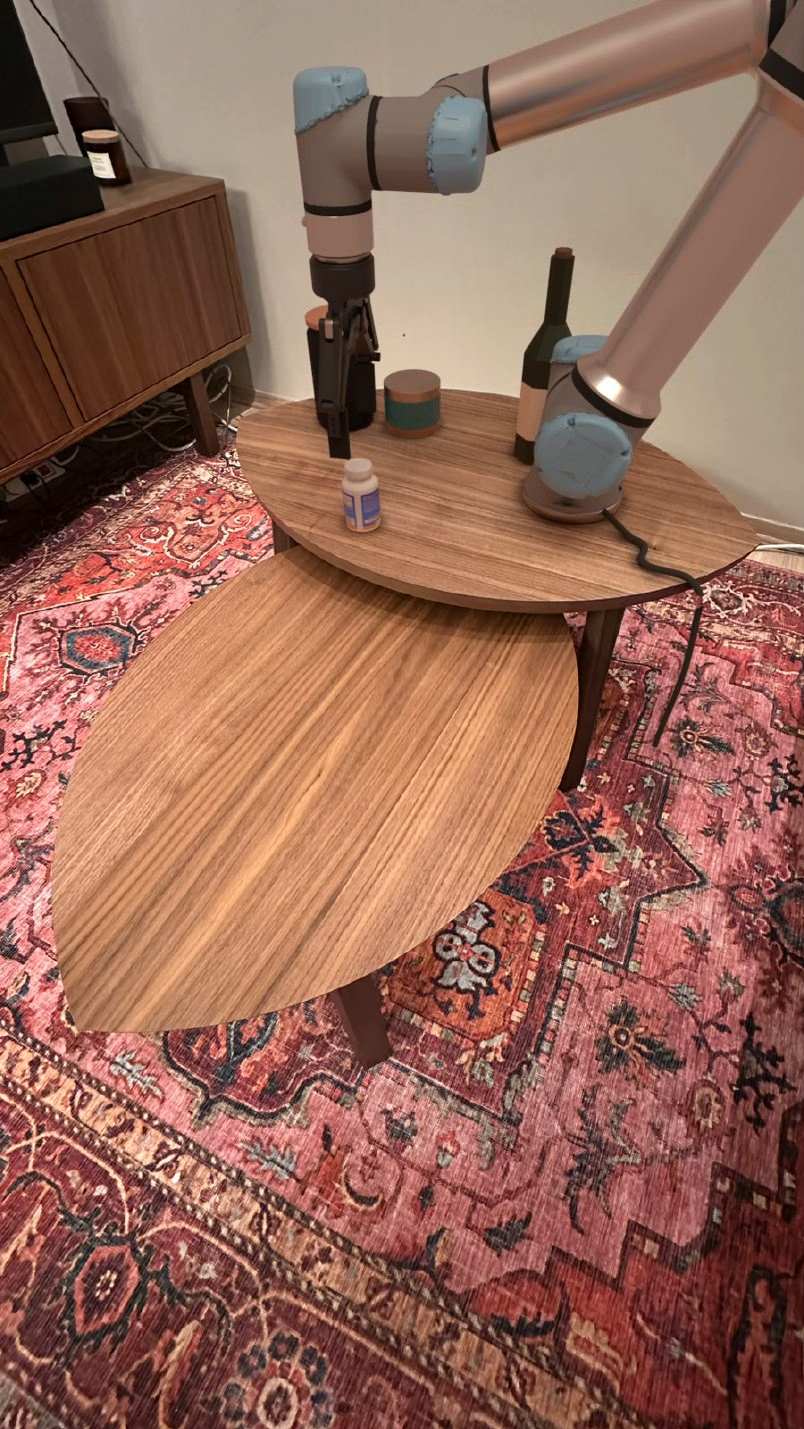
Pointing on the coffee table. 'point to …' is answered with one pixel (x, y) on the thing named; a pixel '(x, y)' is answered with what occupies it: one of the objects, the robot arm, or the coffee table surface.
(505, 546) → the coffee table surface
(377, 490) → the pill bottle
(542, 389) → the wine bottle
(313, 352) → the coffee jar
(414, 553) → the coffee table surface
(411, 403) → the tin
